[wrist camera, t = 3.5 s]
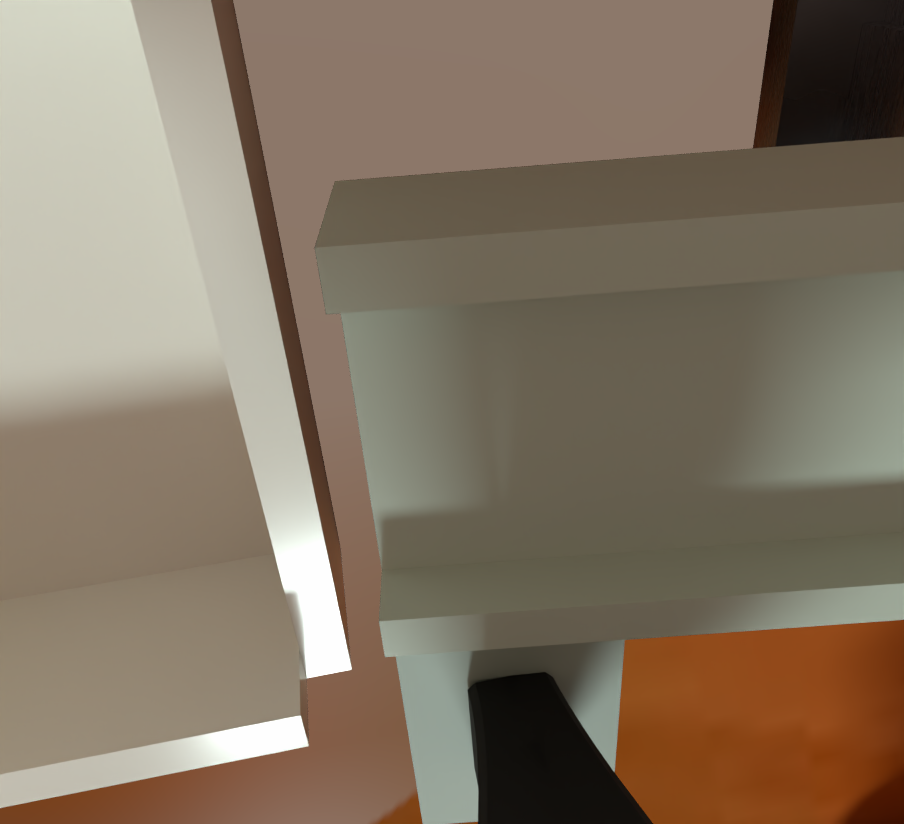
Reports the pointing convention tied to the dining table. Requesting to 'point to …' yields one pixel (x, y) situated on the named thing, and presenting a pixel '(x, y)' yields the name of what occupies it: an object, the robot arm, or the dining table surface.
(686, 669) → the dining table surface
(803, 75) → the fulcrum
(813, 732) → the dining table surface
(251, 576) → the tray
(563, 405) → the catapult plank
